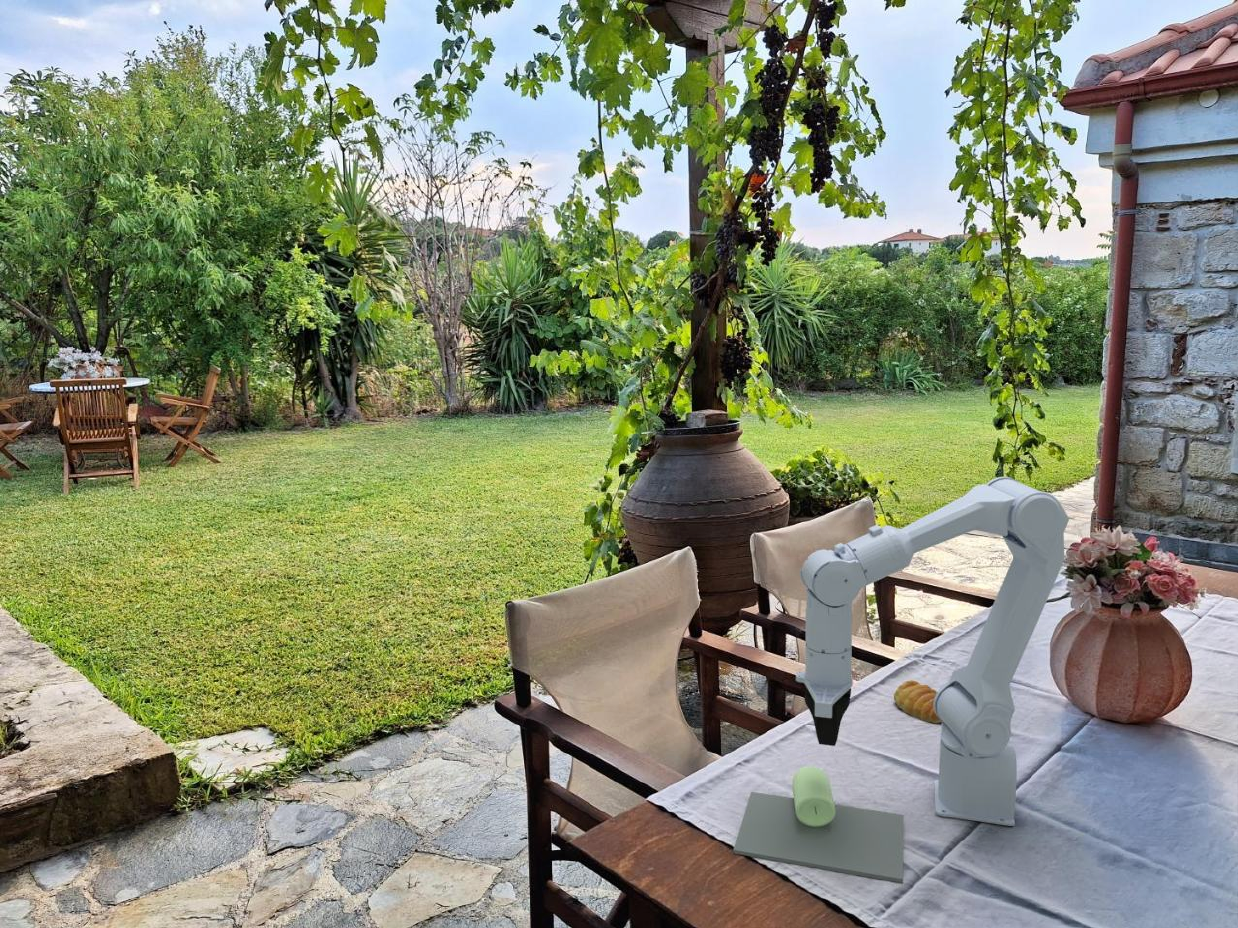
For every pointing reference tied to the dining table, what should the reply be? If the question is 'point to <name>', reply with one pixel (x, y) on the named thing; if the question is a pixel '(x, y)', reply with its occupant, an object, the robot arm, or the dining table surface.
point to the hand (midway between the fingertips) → (827, 742)
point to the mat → (823, 838)
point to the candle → (813, 797)
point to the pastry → (917, 701)
